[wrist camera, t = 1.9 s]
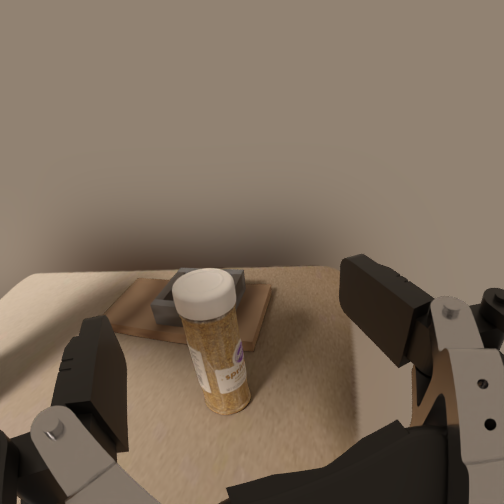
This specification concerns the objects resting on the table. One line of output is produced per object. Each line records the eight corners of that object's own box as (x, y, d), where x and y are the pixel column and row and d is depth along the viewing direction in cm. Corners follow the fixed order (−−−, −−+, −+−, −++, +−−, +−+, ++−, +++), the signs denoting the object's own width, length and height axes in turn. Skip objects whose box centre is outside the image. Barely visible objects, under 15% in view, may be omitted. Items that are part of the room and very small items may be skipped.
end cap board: (100, 329, 38) (90, 302, 37) (140, 285, 49) (133, 261, 47) (253, 351, 33) (249, 320, 31) (271, 293, 44) (269, 265, 42)
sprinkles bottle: (251, 415, 25) (231, 296, 20) (202, 416, 25) (163, 300, 20) (251, 380, 29) (234, 263, 24) (207, 381, 30) (177, 267, 24)
